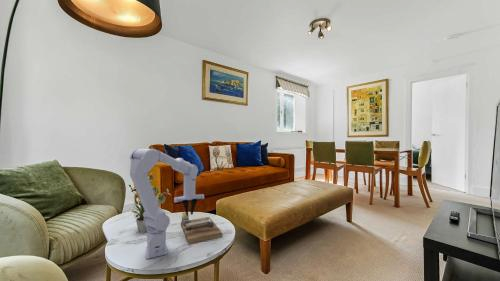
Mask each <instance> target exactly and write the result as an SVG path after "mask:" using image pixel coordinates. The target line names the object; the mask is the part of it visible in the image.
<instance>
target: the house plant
mask: <svg viewBox="0 0 500 281" xmlns="http://www.w3.org/2000/svg"><path fill="white" fill-rule="evenodd" d="M133 204H134V206H133V208H134V209H137V211H136V210H132V211H130V212H131V213H135V221H136V226H137V232H138V233H147V226H145V225H144V216H143V213H144V212H145V210H144V207H143V205H142V203H141V202H140V204H138V203H133Z"/></svg>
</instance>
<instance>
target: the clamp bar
mask: <svg viewBox="0 0 500 281" xmlns="http://www.w3.org/2000/svg"><path fill="white" fill-rule="evenodd" d="M211 220H212V219H211ZM211 220H210V219H209V218H208V219H207V220H202V221H197V222H192V223H187V224H186V227H187V228H190V227H194V226H199V225H204V224H209V222H212V221H213V220H212V221H211Z"/></svg>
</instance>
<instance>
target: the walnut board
mask: <svg viewBox="0 0 500 281" xmlns="http://www.w3.org/2000/svg"><path fill="white" fill-rule="evenodd" d="M208 218H209V219H210V220H211V221H212V222H209V224H204V225H199V226H194V227H190V228H187V227H186V224H187V223H192V222H197V221H202V220H207V219H208ZM180 227H181V229H182V232H183V235H184V238H185V239H186V242H187V245H190V244H195V243H199V242H204V241H207V240H212V239H217V238H221V237H222V236H223V232H222V231H221V229H220V228H219V227H218V226H217V224H216V223H215V222H214V221H213V220H212V218H211V217H210V216H205V217H200V218H194V219H185V220H184V219H183V217H182V216H181V221H180Z"/></svg>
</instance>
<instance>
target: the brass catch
mask: <svg viewBox="0 0 500 281" xmlns="http://www.w3.org/2000/svg"><path fill="white" fill-rule="evenodd" d="M189 216H190V215H189V214H188V215H186V211H183V212H182V216H181V218H182V217H183V219H184V220H185V219H189ZM189 220H190V219H189Z"/></svg>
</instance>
